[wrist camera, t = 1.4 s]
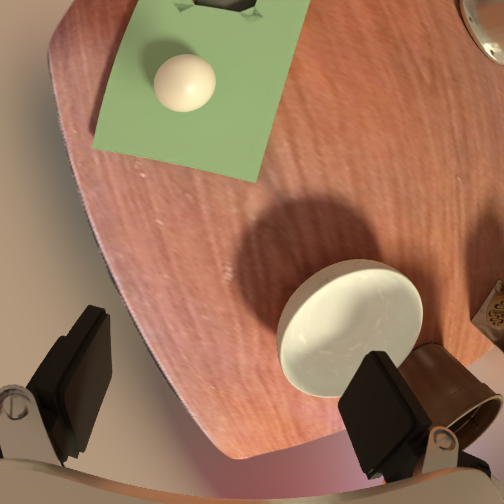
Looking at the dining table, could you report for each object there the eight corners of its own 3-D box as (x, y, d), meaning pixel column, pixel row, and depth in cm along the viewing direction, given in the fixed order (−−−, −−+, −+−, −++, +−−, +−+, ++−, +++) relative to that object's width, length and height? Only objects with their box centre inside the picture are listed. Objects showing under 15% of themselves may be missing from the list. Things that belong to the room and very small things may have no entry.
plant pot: (360, 371, 39) (402, 456, 24) (447, 312, 37) (510, 376, 22) (386, 414, 44) (417, 480, 29) (456, 366, 42) (499, 422, 27)
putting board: (171, -43, 18) (167, -54, 16) (313, -18, 21) (319, -28, 18) (102, 147, 26) (91, 148, 24) (253, 179, 28) (255, 183, 26)
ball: (170, 59, 21) (157, 42, 17) (224, 68, 22) (222, 52, 17) (155, 109, 23) (138, 103, 18) (208, 120, 24) (203, 114, 19)
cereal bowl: (391, 343, 38) (413, 374, 31) (280, 372, 38) (288, 411, 31) (398, 231, 31) (432, 253, 25) (258, 259, 31) (266, 291, 25)
